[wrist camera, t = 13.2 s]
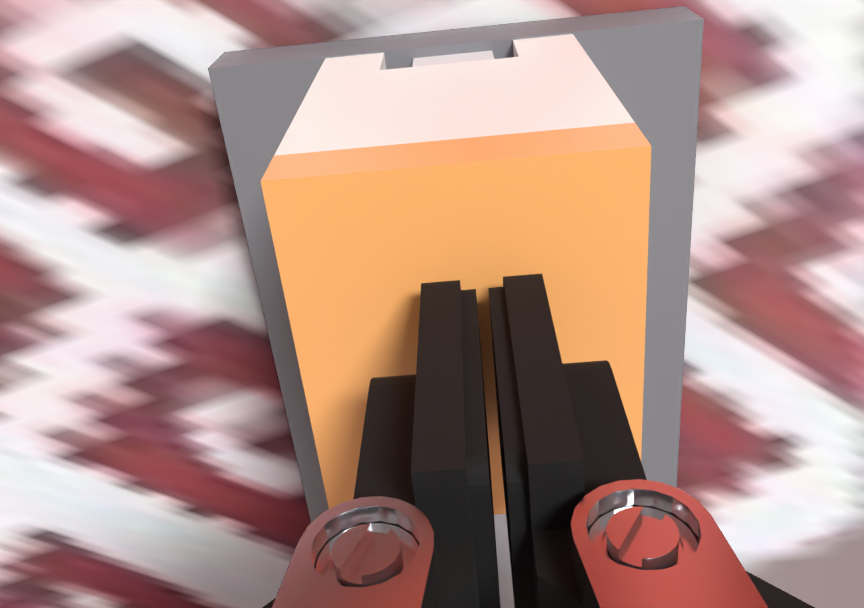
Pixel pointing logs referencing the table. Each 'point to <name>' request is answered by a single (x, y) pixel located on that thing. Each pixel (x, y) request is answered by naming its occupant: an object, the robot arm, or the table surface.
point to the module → (456, 223)
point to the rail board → (597, 34)
